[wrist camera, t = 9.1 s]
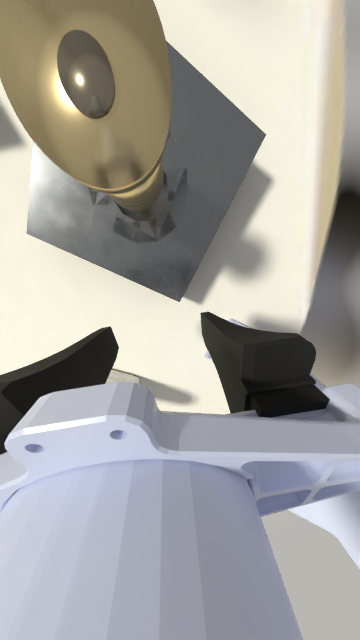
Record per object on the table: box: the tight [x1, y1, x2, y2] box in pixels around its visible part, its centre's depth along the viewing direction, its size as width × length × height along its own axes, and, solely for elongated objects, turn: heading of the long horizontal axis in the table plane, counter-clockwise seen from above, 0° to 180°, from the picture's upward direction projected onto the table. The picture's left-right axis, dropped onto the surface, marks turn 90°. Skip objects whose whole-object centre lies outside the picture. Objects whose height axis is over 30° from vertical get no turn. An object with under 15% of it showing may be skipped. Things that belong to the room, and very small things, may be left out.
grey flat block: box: [27, 41, 266, 302], centre depth 15 cm, size 16×16×4 cm
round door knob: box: [0, 0, 171, 211], centre depth 8 cm, size 5×5×7 cm
